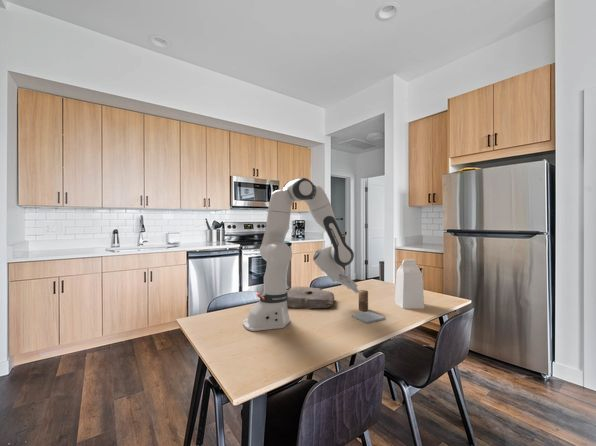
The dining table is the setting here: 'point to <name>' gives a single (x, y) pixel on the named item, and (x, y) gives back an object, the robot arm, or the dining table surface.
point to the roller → (363, 300)
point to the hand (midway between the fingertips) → (353, 289)
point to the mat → (368, 317)
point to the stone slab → (309, 298)
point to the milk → (409, 286)
